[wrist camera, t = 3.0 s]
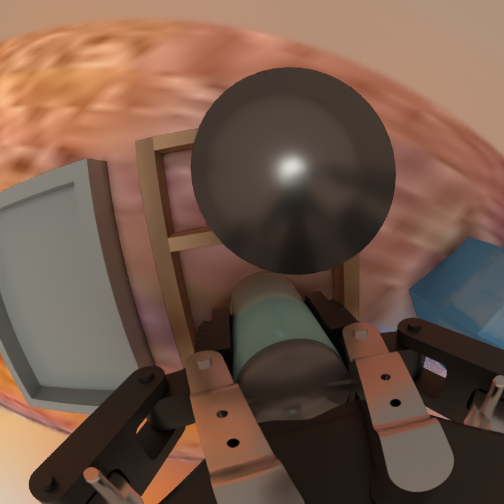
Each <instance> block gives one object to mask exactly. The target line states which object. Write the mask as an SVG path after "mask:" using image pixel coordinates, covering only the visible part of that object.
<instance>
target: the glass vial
mask: <svg viewBox="0 0 504 504" xmlns="http://www.w3.org/2000/svg"><path fill="white" fill-rule="evenodd" d="M191 176H192V185H193V189H194V194H195V198H196V200H197V203H198V206H199V209H200V211H201V213H202V215H203V217H204V219H205V221H206V223H207V224H208V226H209V227H210V228H211V230H212V231H213V233H214V234H215V235H216V237H217V238H218V239H219V240H220V241H221V242H222V243H223V244H224V245H225V246H226V247H227V248H228V249H230V250H231V251H232V252H233V253H235V254H236V255H237V256H239V257H240V258H242V259H244V260H245V261H247V262H248V263H251V264H253V265H255V266H257V267H260V268H262V269H265V270H269V271H272V272H276V273H283V274H295V275H303V274H312V273H317V272H321V271H325V270H328V269H331V268H334V267H336V266H339V265H341V264H342V263H344V262H346V261H348V260H350V259H351V258H352V257H354V256H355V255H357V254H358V253H359V252H360V251H362V250H363V249H364V248H365V247H366V246H367V245H368V244H369V243H370V242H371V240H372V239H373V238H374V237H375V235H376V234H377V233H378V231H379V230H380V228H381V226H382V225H383V223H384V221H385V219H386V217H387V214H388V212H389V209H390V206H391V203H392V200H393V195H394V190H395V179H396V171H395V159H394V154H393V149H392V145H391V142H390V139H389V136H388V134H387V132H386V129H385V127H384V125H383V123H382V122H381V120H380V118H379V116H378V115H377V113H376V112H375V111H374V109H373V108H372V107H371V106H370V104H369V103H368V102H367V101H366V100H365V99H364V98H363V97H362V96H361V95H360V94H359V93H357V92H356V91H355V90H354V89H352V88H351V87H350V86H348V85H347V84H345V83H343V82H342V81H340V80H338V79H336V78H334V77H332V76H330V75H327V74H324V73H321V72H318V71H315V70H310V69H304V68H291V67H286V68H275V69H270V70H265V71H261V72H258V73H256V74H253V75H250V76H248V77H246V78H244V79H242V80H241V81H239V82H237V83H235V84H234V85H233V86H231V87H230V88H229V89H227V90H226V91H225V92H224V93H223V94H222V95H221V96H220V97H219V98H218V99H217V100H216V101H215V102H214V103H213V105H212V106H211V107H210V109H209V110H208V111H207V113H206V115H205V117H204V118H203V120H202V122H201V124H200V126H199V129H198V132H197V134H196V137H195V140H194V145H193V150H192V159H191Z"/></svg>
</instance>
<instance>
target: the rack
mask: <svg viewBox="0 0 504 504" xmlns="http://www.w3.org/2000/svg"><path fill="white" fill-rule="evenodd" d="M198 129H199V128H196V129H191V130H185V131H180V132H175V133H170V134H165V135H160V136H156V137H151V138H147V139H143V140H139V141H135V145H136V154H137V162H138V170H139V177H140V184H141V191H142V197H143V204H144V210H145V215H146V221H147V226H148V232H149V237H150V242H151V247H152V252H153V256H154V261H155V266H156V270H157V274H158V279H159V283H160V287H161V291H162V295H163V299H164V303H165V307H166V311H167V314H168V318H169V322H170V325H171V329H172V332H173V336H174V339H175V343H176V346H177V349H178V353H179V356H180V359H181V362H182V365H183V368H185V361H186V359H187V358H188V357H189V356H191V355H192V354H194V349H195V343H196V332H195V328H194V324H193V320H192V316H191V312H190V307H189V303H188V299H187V294H186V290H185V285H184V281H183V276H182V271H181V267H180V262H179V257H178V252H177V251H180V250H186V249H192V248H199V247H205V246H212V245H218V244H223V243H222V242H221V241H220V240H219V239H218V238H217V237H216V235H215V234H214V233H213V231H212V230H211V228H210V227H205V228H199V229H193V230H187V231H181V232H175V233H174V230H173V225H172V219H171V213H170V207H169V201H168V195H167V188H166V181H165V174H164V167H163V159H162V154H165V153H170V152H175V151H181V150H186V149H191V148H193V145H194V140H195V137H196V134H197V132H198ZM333 279H334V300H336V301H338V302H340V303H342V304H343V305H344V306H345V308H346V309H347V310H348V311H349V313H351V314H352V315H353V316H354V317H355V318H356V319H357V320H358V321H359V256H358V254H357V255H355V256H354V257H352V258H351V259H350V260H348V261H346V262H344V263H342V264H341V265H339V266H336V267H334V268H333Z"/></svg>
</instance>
